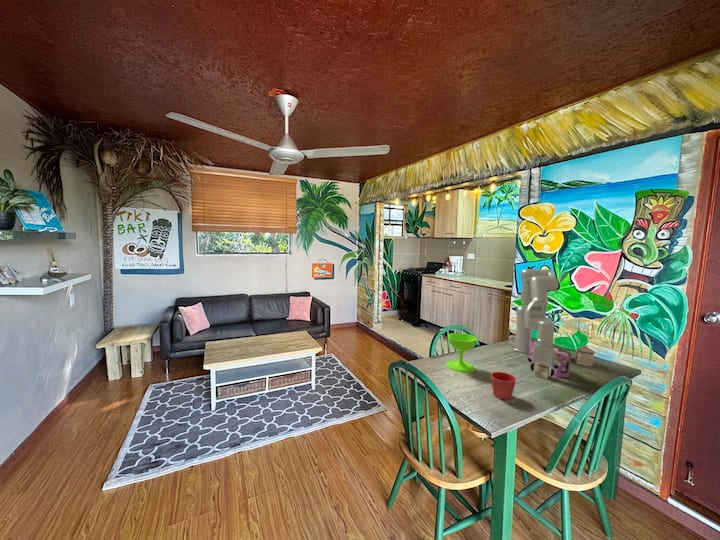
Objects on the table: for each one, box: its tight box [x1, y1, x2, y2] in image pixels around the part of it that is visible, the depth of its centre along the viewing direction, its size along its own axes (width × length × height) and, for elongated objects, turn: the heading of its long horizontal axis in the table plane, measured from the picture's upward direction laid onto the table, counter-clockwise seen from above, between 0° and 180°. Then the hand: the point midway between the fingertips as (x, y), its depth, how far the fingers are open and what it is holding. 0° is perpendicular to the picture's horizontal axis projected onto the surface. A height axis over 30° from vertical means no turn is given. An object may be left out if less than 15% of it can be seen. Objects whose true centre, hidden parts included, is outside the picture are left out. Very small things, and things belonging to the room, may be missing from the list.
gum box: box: [528, 340, 572, 378], centre depth 174 cm, size 24×8×14 cm, turn 10°
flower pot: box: [490, 371, 517, 401], centre depth 141 cm, size 11×11×10 cm
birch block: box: [534, 363, 550, 380], centre depth 165 cm, size 6×6×6 cm
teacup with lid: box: [575, 345, 595, 367], centre depth 184 cm, size 12×9×12 cm
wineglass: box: [446, 332, 478, 374], centre depth 173 cm, size 16×16×18 cm
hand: (541, 373), depth 165 cm, fingers open, 8 cm apart
